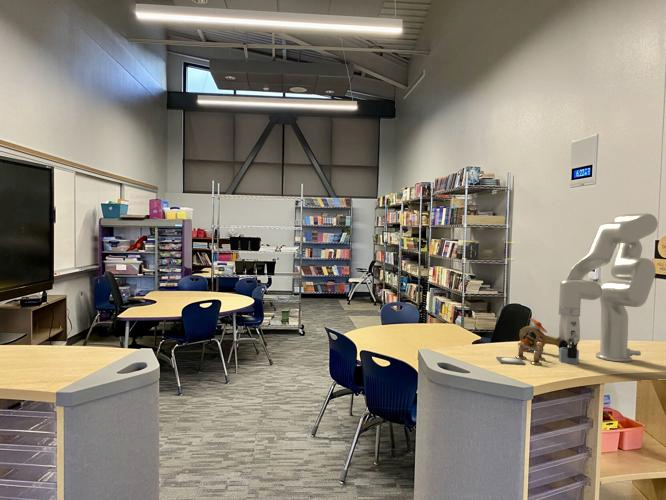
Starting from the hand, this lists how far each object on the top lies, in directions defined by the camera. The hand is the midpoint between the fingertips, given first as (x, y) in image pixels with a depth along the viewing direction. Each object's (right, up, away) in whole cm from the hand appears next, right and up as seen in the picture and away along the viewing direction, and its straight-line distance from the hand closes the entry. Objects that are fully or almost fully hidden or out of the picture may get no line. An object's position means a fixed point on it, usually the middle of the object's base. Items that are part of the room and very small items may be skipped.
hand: (567, 355), depth 184 cm
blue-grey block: (+1, -3, 0) cm, 3 cm away
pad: (-23, -2, -1) cm, 23 cm away
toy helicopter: (-3, -3, +17) cm, 17 cm away
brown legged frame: (-14, -2, 0) cm, 14 cm away
